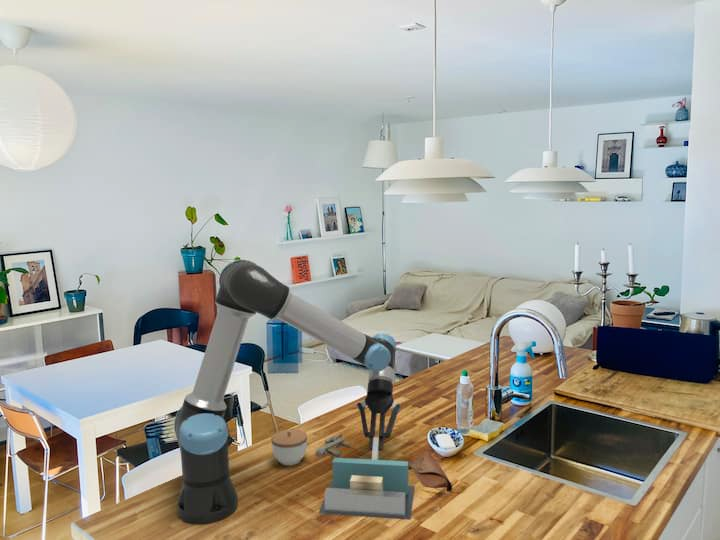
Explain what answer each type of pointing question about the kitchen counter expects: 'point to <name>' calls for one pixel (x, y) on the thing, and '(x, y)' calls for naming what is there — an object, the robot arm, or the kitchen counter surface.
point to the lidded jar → (289, 446)
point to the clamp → (324, 449)
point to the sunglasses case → (430, 472)
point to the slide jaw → (372, 473)
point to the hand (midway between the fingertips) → (374, 461)
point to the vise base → (368, 503)
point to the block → (366, 483)
